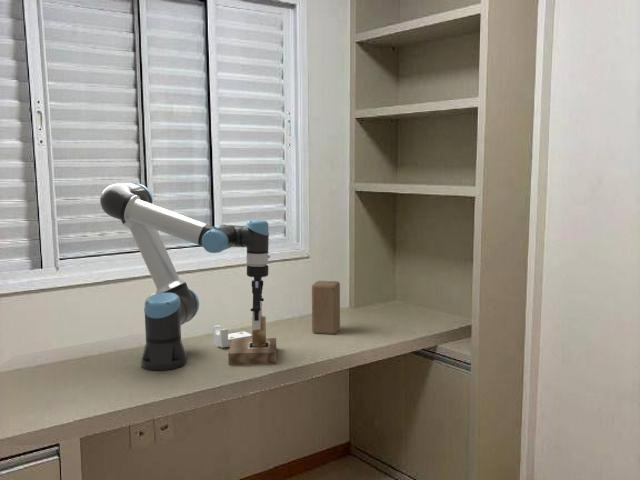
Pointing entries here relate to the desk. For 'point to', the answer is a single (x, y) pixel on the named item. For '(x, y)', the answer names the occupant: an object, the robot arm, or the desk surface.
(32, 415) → the desk surface
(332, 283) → the wooden block
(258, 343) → the oak peg
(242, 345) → the seat board
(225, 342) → the bracket
